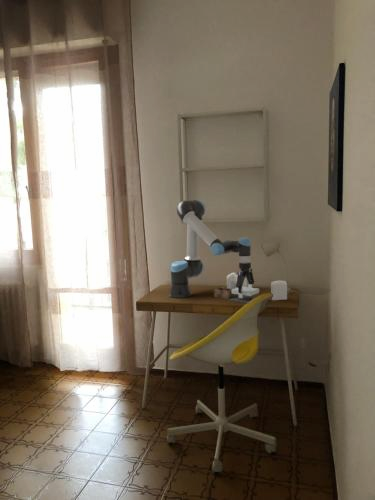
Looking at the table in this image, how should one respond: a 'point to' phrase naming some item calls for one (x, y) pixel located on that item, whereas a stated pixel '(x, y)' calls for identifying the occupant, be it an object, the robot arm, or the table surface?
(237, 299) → the rubber mat
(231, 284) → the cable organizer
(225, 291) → the walnut box
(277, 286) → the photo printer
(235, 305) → the table surface
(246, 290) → the cover plate
